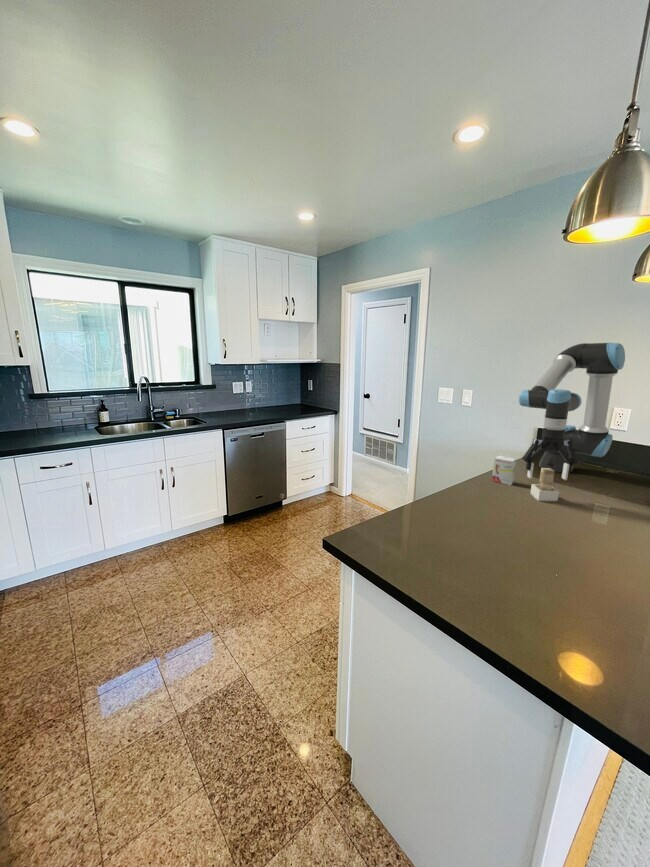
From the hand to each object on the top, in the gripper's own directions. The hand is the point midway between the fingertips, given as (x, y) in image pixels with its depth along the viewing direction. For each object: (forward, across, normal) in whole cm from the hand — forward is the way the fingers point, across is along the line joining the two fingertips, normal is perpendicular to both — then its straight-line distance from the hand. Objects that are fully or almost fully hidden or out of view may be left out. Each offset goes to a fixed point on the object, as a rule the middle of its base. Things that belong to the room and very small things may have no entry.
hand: (546, 478), depth 145 cm
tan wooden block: (+8, 0, 0) cm, 8 cm away
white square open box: (+9, 0, 0) cm, 9 cm away
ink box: (+9, -10, +18) cm, 22 cm away
